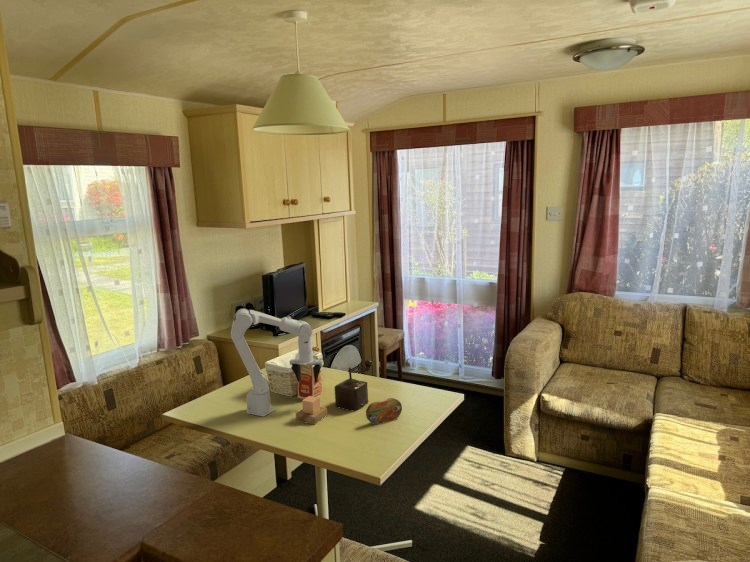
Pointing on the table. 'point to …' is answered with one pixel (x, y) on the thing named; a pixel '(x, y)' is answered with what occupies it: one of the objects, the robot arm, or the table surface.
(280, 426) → the table surface
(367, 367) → the dark brown boxy piece
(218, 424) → the table surface
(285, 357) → the storage basket
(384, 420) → the tin
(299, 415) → the brown flat square block
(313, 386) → the milk carton
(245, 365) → the robot arm
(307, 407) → the terracotta cube
